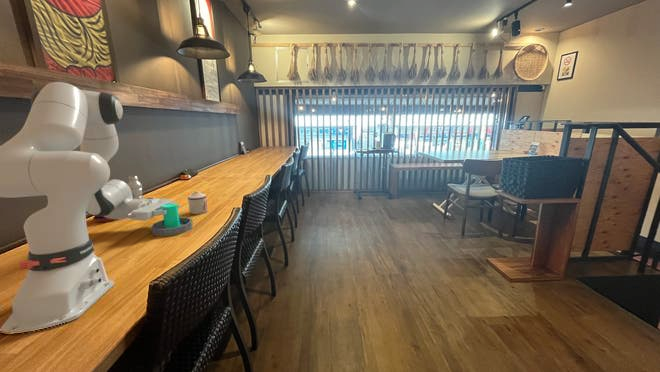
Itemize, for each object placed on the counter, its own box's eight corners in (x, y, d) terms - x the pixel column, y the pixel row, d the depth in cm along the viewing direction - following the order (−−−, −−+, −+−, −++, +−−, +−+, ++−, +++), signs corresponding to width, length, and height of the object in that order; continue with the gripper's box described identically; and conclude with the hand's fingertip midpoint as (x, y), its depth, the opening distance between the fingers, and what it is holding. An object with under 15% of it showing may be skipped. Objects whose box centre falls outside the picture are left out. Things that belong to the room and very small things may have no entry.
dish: (190, 233, 113) (189, 226, 112) (148, 238, 107) (147, 231, 107) (194, 221, 127) (193, 215, 126) (157, 225, 121) (156, 219, 121)
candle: (172, 230, 113) (169, 204, 111) (161, 229, 115) (157, 203, 112) (183, 225, 119) (180, 200, 117) (172, 224, 121) (169, 199, 118)
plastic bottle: (133, 211, 142) (127, 175, 137) (148, 210, 144) (142, 175, 139) (128, 215, 136) (122, 177, 131) (143, 214, 138) (137, 177, 133)
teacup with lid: (207, 213, 139) (205, 192, 137) (188, 215, 136) (186, 194, 133) (208, 207, 150) (206, 187, 147) (190, 209, 146) (187, 189, 144)
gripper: (121, 209, 104) (156, 209, 104) (154, 196, 124) (183, 196, 124) (124, 224, 105) (158, 224, 106) (156, 209, 125) (185, 209, 126)
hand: (172, 209), depth 115 cm, fingers open, 8 cm apart
